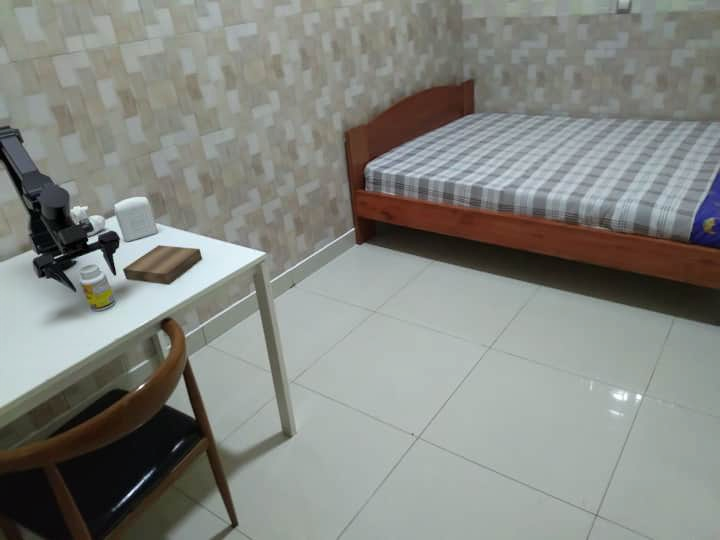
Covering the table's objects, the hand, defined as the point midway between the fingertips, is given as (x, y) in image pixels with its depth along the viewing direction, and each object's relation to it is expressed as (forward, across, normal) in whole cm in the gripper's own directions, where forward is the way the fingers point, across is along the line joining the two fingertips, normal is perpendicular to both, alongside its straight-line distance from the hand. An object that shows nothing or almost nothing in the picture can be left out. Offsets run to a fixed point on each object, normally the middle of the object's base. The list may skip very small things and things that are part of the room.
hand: (96, 283), depth 119 cm
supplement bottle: (+4, 0, +6) cm, 7 cm away
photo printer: (-20, +24, +29) cm, 43 cm away
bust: (-32, +14, +42) cm, 54 cm away
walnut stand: (0, +18, +9) cm, 21 cm away
